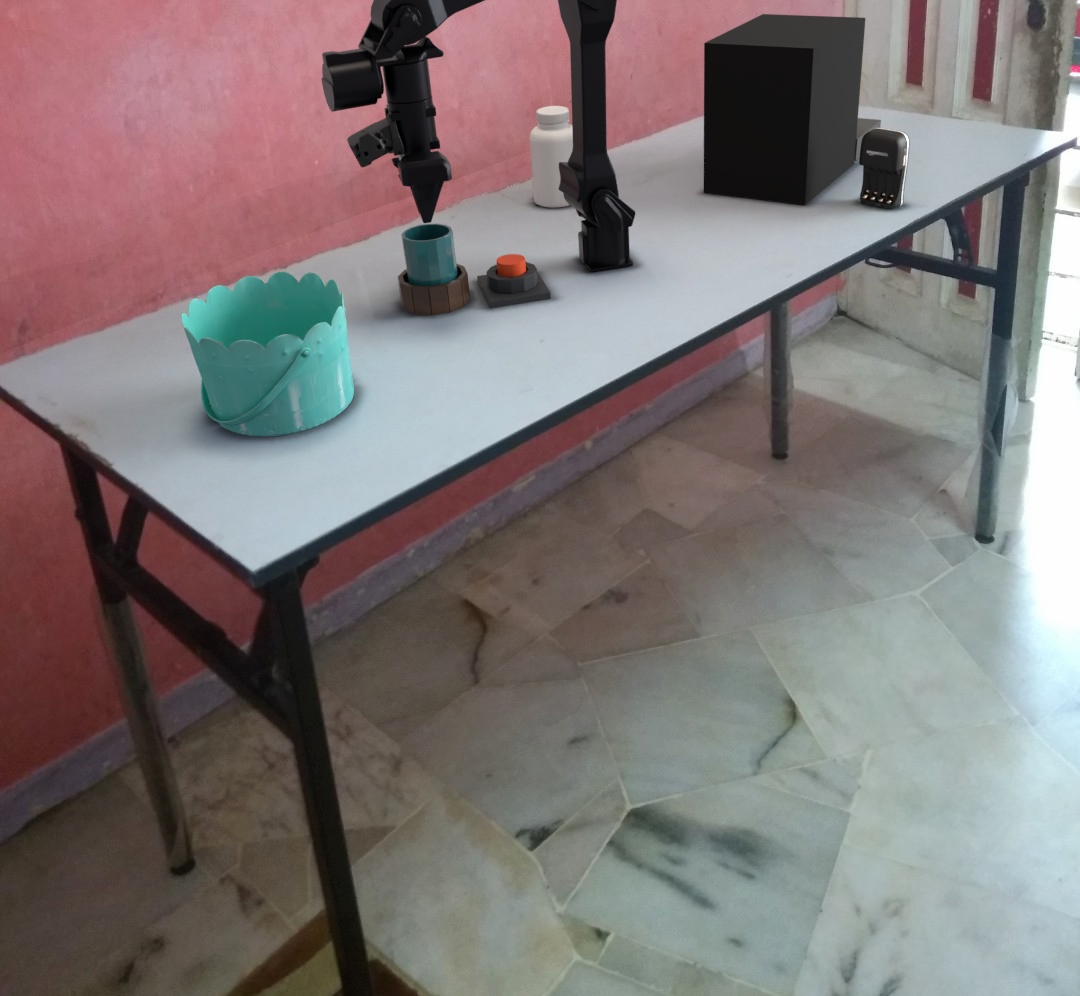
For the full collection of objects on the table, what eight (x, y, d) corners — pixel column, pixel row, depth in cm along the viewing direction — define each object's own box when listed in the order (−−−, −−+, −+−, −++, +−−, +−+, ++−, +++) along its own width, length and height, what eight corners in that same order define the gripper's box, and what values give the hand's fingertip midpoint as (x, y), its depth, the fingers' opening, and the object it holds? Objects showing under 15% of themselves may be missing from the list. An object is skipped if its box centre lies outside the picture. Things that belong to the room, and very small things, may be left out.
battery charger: (852, 204, 180) (858, 131, 174) (865, 197, 182) (871, 124, 176) (892, 212, 176) (899, 137, 170) (905, 205, 178) (912, 131, 172)
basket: (376, 420, 131) (358, 316, 124) (215, 457, 127) (187, 352, 120) (343, 355, 147) (325, 260, 140) (199, 386, 142) (173, 289, 135)
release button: (495, 270, 161) (493, 256, 160) (522, 266, 161) (521, 252, 160) (500, 280, 157) (499, 266, 156) (529, 276, 158) (527, 262, 157)
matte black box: (878, 144, 205) (891, 3, 192) (806, 205, 181) (814, 48, 168) (784, 136, 214) (790, 0, 201) (703, 193, 190) (704, 42, 177)
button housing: (477, 282, 164) (475, 262, 163) (535, 273, 165) (533, 253, 164) (490, 308, 156) (488, 288, 154) (551, 299, 157) (549, 278, 156)
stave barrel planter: (463, 284, 164) (460, 257, 162) (474, 308, 156) (471, 281, 154) (398, 294, 163) (394, 267, 160) (406, 319, 155) (402, 292, 153)
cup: (455, 288, 163) (447, 220, 157) (463, 306, 157) (455, 236, 152) (408, 296, 162) (398, 228, 156) (415, 314, 156) (405, 244, 151)
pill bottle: (577, 208, 188) (572, 115, 180) (529, 208, 190) (522, 116, 181) (585, 193, 194) (580, 102, 186) (539, 193, 196) (532, 103, 188)
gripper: (340, 90, 151) (358, 205, 159) (352, 124, 136) (372, 250, 144) (423, 79, 153) (437, 194, 161) (444, 112, 137) (459, 237, 146)
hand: (425, 217), depth 153 cm, fingers open, 4 cm apart
